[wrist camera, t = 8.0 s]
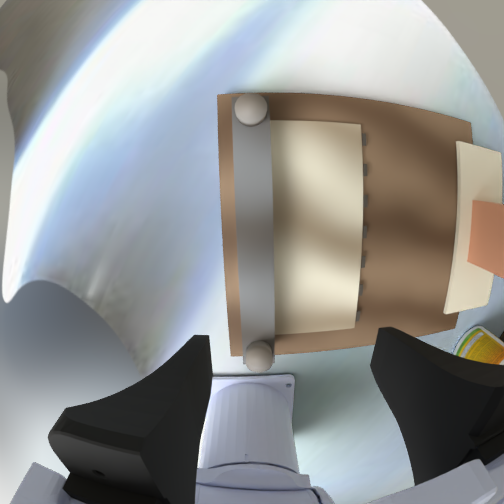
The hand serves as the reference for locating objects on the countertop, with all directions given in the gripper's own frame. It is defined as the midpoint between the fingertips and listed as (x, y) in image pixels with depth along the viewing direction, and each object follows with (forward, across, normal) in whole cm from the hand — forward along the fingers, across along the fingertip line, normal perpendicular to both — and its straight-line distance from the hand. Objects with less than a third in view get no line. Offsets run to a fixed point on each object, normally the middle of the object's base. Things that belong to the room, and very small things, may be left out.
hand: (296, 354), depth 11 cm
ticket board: (+9, -6, -4) cm, 12 cm away
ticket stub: (+8, -17, -4) cm, 19 cm away
